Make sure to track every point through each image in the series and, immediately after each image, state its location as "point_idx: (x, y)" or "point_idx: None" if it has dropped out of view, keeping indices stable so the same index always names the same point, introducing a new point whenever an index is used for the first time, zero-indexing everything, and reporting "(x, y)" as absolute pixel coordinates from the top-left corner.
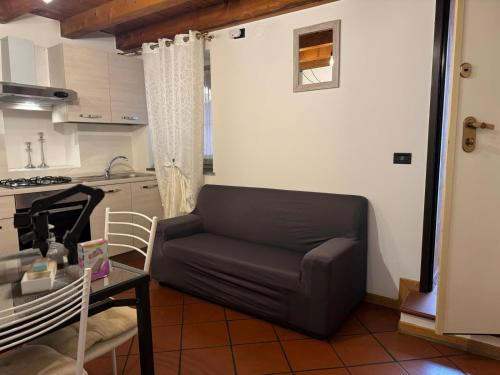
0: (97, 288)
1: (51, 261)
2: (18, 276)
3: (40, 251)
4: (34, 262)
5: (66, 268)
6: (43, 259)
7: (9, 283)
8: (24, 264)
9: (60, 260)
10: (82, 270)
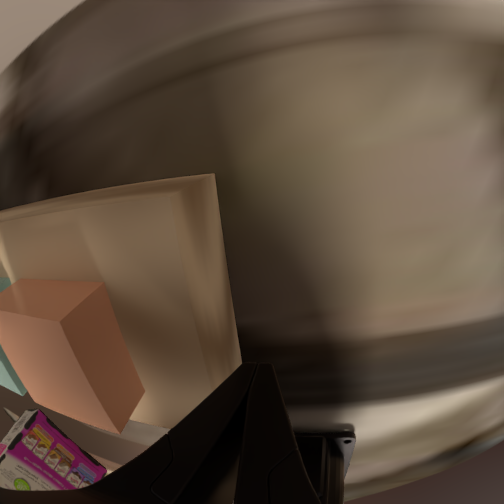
0: (15, 416)
1: (155, 403)
2: (100, 84)
3: (151, 447)
4: (161, 241)
5: None
6: (44, 381)
7: (6, 93)
8: (494, 58)
9: (430, 379)
10: (3, 439)
